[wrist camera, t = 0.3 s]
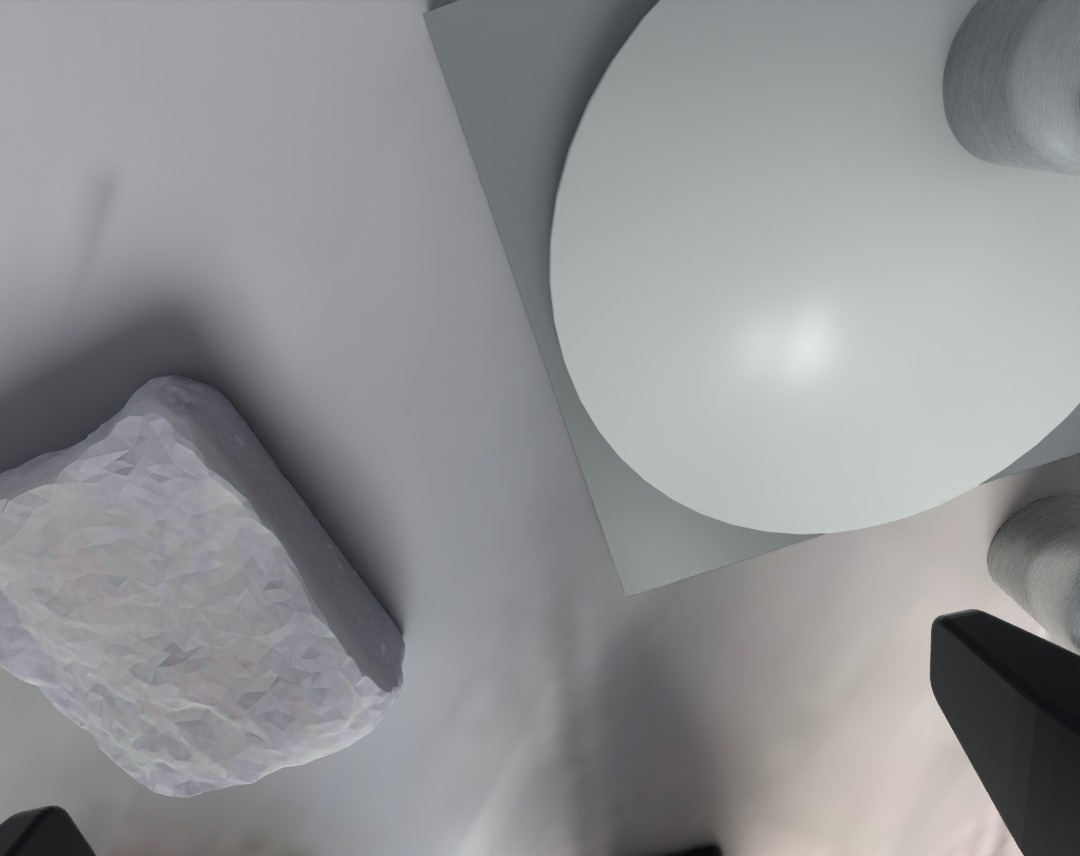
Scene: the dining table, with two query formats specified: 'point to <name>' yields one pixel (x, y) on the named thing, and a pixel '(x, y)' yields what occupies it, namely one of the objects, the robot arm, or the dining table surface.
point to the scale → (766, 264)
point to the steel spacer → (1043, 565)
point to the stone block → (188, 599)
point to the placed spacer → (1017, 84)
